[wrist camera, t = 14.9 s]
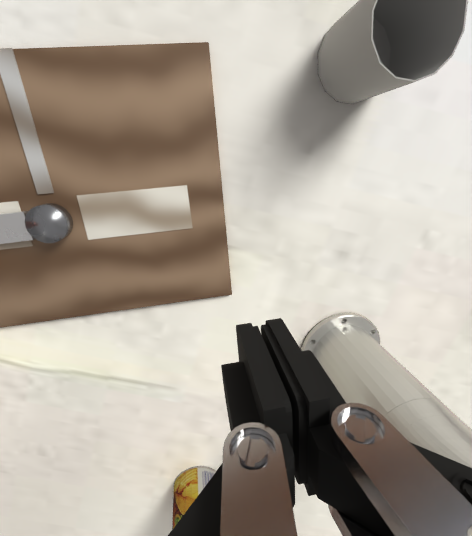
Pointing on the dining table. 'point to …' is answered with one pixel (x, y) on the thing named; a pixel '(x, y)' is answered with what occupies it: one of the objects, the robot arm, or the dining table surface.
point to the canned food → (189, 489)
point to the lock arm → (36, 224)
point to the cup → (388, 45)
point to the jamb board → (111, 179)
